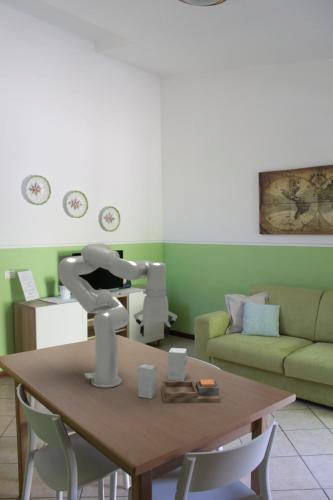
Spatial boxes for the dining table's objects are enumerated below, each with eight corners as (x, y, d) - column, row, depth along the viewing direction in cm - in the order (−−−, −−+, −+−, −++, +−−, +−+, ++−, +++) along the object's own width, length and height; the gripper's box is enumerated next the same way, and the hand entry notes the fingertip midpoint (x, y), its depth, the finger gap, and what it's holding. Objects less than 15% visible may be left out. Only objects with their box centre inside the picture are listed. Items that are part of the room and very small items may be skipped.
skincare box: (156, 395, 173) (156, 366, 172) (151, 399, 169) (151, 369, 168) (142, 392, 175) (143, 363, 175) (137, 396, 171) (138, 366, 171)
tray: (163, 403, 165) (163, 391, 165) (161, 389, 179) (161, 378, 179) (220, 402, 167) (220, 390, 167) (213, 388, 181) (213, 378, 181)
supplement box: (184, 381, 189) (184, 353, 188) (167, 380, 190) (167, 351, 189) (186, 375, 196) (187, 348, 195) (170, 374, 197) (171, 347, 197)
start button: (201, 390, 171) (201, 384, 171) (199, 385, 176) (199, 379, 176) (214, 390, 171) (214, 384, 171) (212, 385, 176) (212, 379, 176)
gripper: (133, 294, 167) (132, 338, 168) (178, 295, 168) (177, 338, 169) (134, 291, 175) (133, 333, 176) (177, 292, 176) (175, 333, 177)
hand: (154, 335), depth 173 cm, fingers open, 9 cm apart
